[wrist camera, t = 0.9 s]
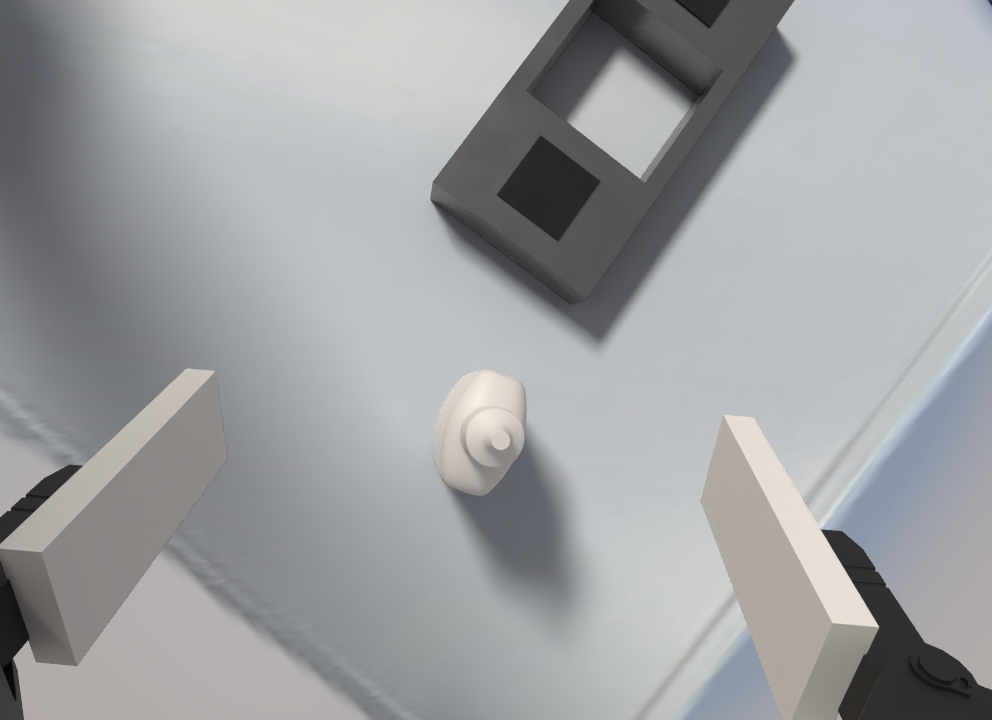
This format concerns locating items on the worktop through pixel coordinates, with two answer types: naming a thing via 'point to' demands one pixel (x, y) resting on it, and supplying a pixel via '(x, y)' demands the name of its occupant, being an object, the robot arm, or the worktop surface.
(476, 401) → the eye dropper bottle
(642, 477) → the worktop surface
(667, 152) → the grey compartment tray
